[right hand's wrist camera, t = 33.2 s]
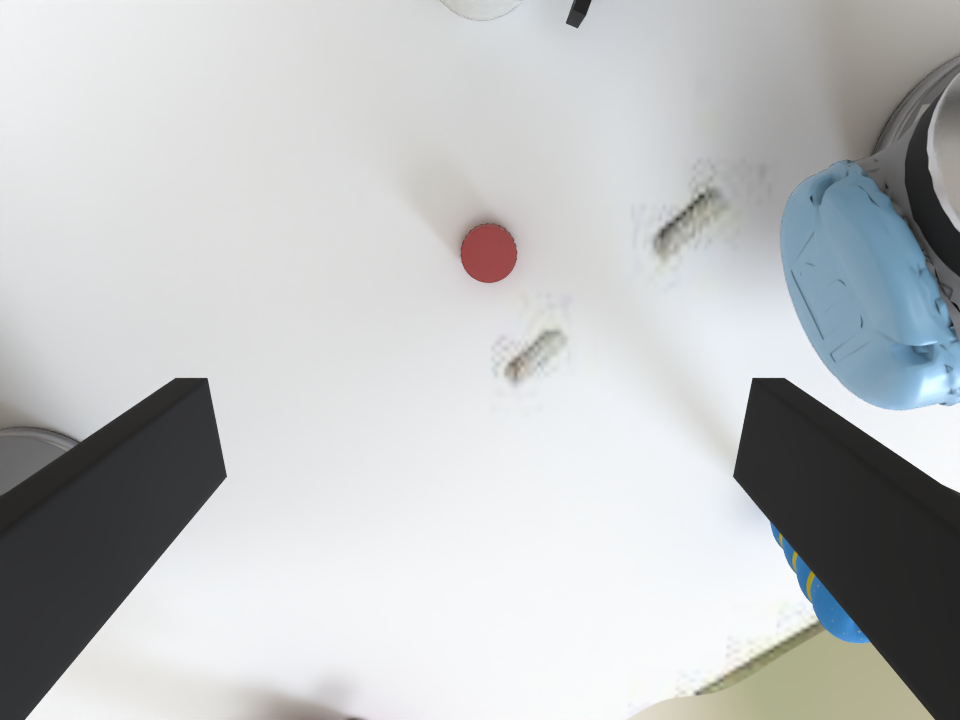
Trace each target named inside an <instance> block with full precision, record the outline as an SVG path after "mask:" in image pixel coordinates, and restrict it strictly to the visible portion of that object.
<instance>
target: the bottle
mask: <svg viewBox="0 0 960 720" xmlns="http://www.w3.org/2000/svg"><path fill="white" fill-rule="evenodd" d="M441 1H442V2H443V3H444V4H445V5H446V6H447V7H448V8H449V9H450V10H452V11H453V12H455V13H456V14H458V15H460V16H462V17H465V18H468V19H472V20H490V19H495V18H498V17H501V16H503V15H505V14H507V13H508V12H510V11H511V10H513V9H514V8H515V7H516V6H517V5H518V4H519V3H520V2H521V1H522V0H441Z"/></svg>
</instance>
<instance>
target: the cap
mask: <svg viewBox="0 0 960 720" xmlns="http://www.w3.org/2000/svg"><path fill="white" fill-rule="evenodd" d="M462 244H463V246H462V247H461V260H462V264H463V266H464V269H465V270H466V271H467V273H468V274H469V275H470V276H471V277H473V278H474V279H476V280H478V281H481V282H485V283H493V282H497V281H500V280H502V279H504V278H505V277H506V276H507V275H509V273H510V272H511V271H512V270H513V268H514V266H515V263H516V260H517V250H516V244H515V243H514V239H513V238H512V237H511V235H510V233H508V232H507V231H506V229H505V228H502V227H500V225H499V226H498V225H494V224H488V223H487V224H484V225H482V224H481V225H480V226H478V227H475V228H474V229H473V230H472V231H471V230H470V232H469V234H468V235H466V237H465V240H463V243H462Z"/></svg>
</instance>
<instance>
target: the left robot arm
mask: <svg viewBox="0 0 960 720" xmlns="http://www.w3.org/2000/svg"><path fill="white" fill-rule="evenodd" d="M590 3H591V0H574V1H573V4H572V7H571V10H570V13H569V16H568V18H567V21H566V24H569V25H571V26H573V27H576V28H578V27H579V25H580V24H581V22H582V21H583V19H584V17H585V16H586V14H587V11H588V8H589V5H590ZM780 242H781V256H782V262H783V267H784V274H785V279H786V283H787V286H788V290H789V294H790V296H791V299H792V302H793V305H794V308H795V311H796V313H797V316H798V318H799V321H800V323H801V325H802V327H803V329H804V331H805V333H806V335H807V337H808V339H809V341H810V343H811V344H812V346H813V348H814V349H815V351H816V353H817V354H818V356H819V357H820V359H821V360H822V362H823V363H824V364H825V366H826V367H827V368H828V369H829V371H830V372H831V373H832V374H833V375H834V376H835V377H836V378H837V379H838V380H839V381H840V383H841V384H842V385H843V386H844V387H845V388H846V389H848V390H849V391H850V392H852V393H853V394H854V395H856V396H857V397H859V398H860V399H862V400H864V401H865V402H867V403H869V404H872V405H874V406H877V407H880V408H884V409H889V410H910V409H915V408H920V407H925V406H929V405H934V404H940V405H944V406H952V405H955V404H957V403H959V402H960V56H958V57H956V58H954V59H953V60H951V61H949V62H947V63H946V64H944V65H943V66H941V67H939V68H938V69H937V70H935V71H934V72H933V73H931V74H930V75H929V76H928V77H926V78H925V79H924V80H923V81H922V82H921V83H919V84H918V85H917V86H916V87H915V88H914V89H913V90H912V91H911V92H910V93H909V95H908V96H907V97H906V98H905V99H904V100H903V101H902V103H901V104H900V105H899V107H898V108H897V109H896V111H895V112H894V113H893V115H892V116H891V118H890V120H889V121H888V123H887V124H886V126H885V128H884V130H883V132H882V134H881V136H880V138H879V140H878V143H877V145H876V147H875V150H874V153H873V155H872V156H870V157H867V158H864V159H861V160H858V161H855V162H853V161H850V160H844V161H840V162H836V163H835V164H832V165H831V166H830V167H829V168H828V169H826V170H824V171H821V172H819V173H817V174H815V175H813V176H811V177H809V178H807V179H806V180H804V181H803V182H802V183H800V184H799V185H798V186H797V187H796V189H795V190H794V191H793V193H792V194H791V196H790V197H789V199H788V201H787V204H786V207H785V210H784V213H783V217H782V223H781V234H780Z"/></svg>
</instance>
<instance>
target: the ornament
mask: <svg viewBox="0 0 960 720" xmlns="http://www.w3.org/2000/svg"><path fill="white" fill-rule="evenodd" d="M770 523H771V522H770ZM771 528H772V532H773V535H774V537H775V539H776V541H777V543H778V544H779V545H780V547H781V548H782V549H783V550H784V553H785V557H786V559H787V561H788V563H789V565H790V567H791V568H792V570H793V571H794V572H795V573H796V574H797V579H798V582H799V585H800V588H801V590H802V592H803V593H804V595H805V596H806V598H807V599H808V600H809V601H810V602H811V603H812V604H813V608H814V611H815V613H816V616H817V618H818V619H819V621H820V622H821V624H822V625H823V627H824V628H825V629H826V630H827V631H829V632H830V633H831V634H832V635H834V636H835V637H837V638H839V639H841V640H844V641H847V642H851V643H867V642H870V641H869V639H868V638H867V637H866V636H865V635H864V633H863V632H862V631H861V630H860V629H859V627H858V626H857V625H856V624H855V623H854V621H853V620H852V619H851V618H850V617H849V615H848V614H847V613H846V612H845V611H844V609H843V608H842V607H841V606H840V605H839V603H838V602H837V601H836V600H835V599H834V597H833V596H832V595H831V594H830V593H829V591H828V590H827V589H826V588H825V587H824V585H823V584H822V583H821V582H820V580H819V579H818V578H817V577H816V576H815V574H814V573H813V572H812V571H811V570H810V568H809V567H808V566H807V565H806V564H805V562H804V561H803V560H802V559H801V558H800V556H799V555H798V554H797V553H796V552H795V550H794V549H793V548H792V547H791V546H790V544H789V543H788V542H787V541H786V540H785V538H784V537H783V536H782V535H781V534H780V532H779V531H778V530H777V529H776V528H775V526H774V525H773V524H772V523H771Z"/></svg>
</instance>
